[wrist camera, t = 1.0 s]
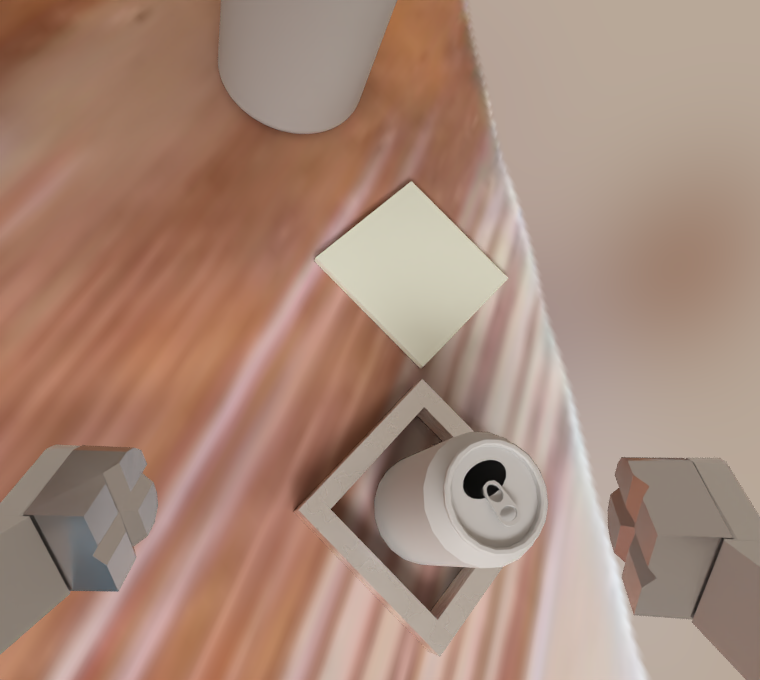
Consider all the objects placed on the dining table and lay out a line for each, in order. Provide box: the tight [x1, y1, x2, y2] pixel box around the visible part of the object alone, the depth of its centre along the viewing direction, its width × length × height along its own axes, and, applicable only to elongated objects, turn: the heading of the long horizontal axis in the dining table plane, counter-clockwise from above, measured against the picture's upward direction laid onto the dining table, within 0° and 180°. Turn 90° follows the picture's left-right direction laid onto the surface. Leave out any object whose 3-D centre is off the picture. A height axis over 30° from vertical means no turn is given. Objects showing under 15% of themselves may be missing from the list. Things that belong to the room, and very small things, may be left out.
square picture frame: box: [294, 379, 502, 656], centre depth 41 cm, size 13×13×2 cm
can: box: [374, 432, 548, 568], centre depth 36 cm, size 8×8×12 cm
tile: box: [314, 181, 508, 369], centre depth 48 cm, size 12×12×1 cm
